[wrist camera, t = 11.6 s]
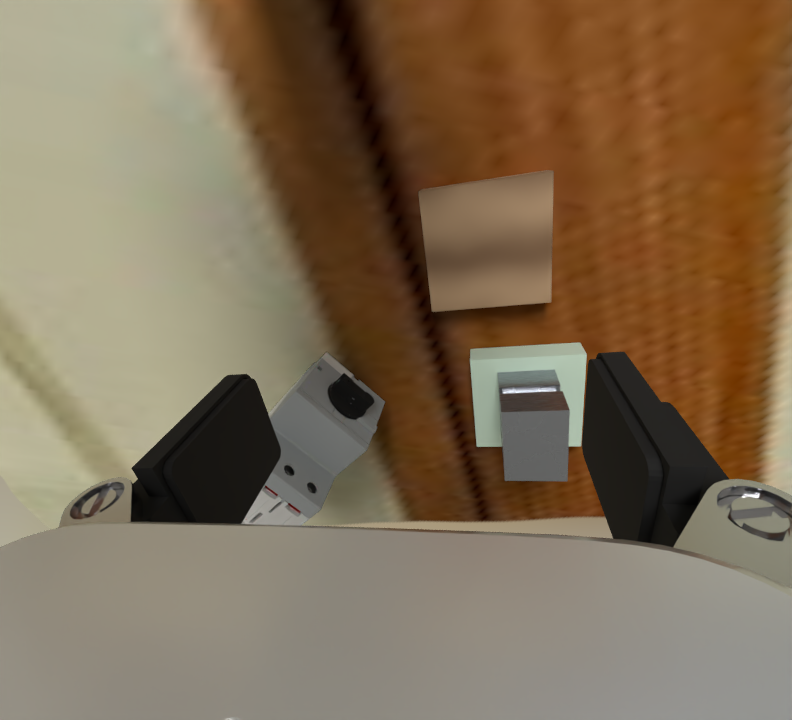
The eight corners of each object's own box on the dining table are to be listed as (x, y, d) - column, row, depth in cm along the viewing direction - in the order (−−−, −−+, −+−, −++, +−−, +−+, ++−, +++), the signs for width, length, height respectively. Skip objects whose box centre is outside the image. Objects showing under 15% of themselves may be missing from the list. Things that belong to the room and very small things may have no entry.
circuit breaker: (402, 372, 42) (368, 472, 28) (324, 443, 48) (267, 551, 35) (348, 325, 40) (286, 405, 27) (275, 404, 47) (196, 501, 33)
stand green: (470, 349, 39) (470, 360, 37) (580, 342, 37) (586, 354, 35) (476, 432, 43) (476, 446, 41) (575, 430, 41) (580, 446, 39)
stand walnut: (421, 189, 33) (418, 191, 31) (548, 170, 31) (553, 170, 29) (434, 303, 38) (432, 311, 35) (546, 293, 35) (551, 302, 33)
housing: (497, 372, 37) (501, 412, 31) (554, 369, 36) (569, 410, 30) (500, 433, 40) (504, 480, 34) (553, 432, 39) (567, 481, 33)
